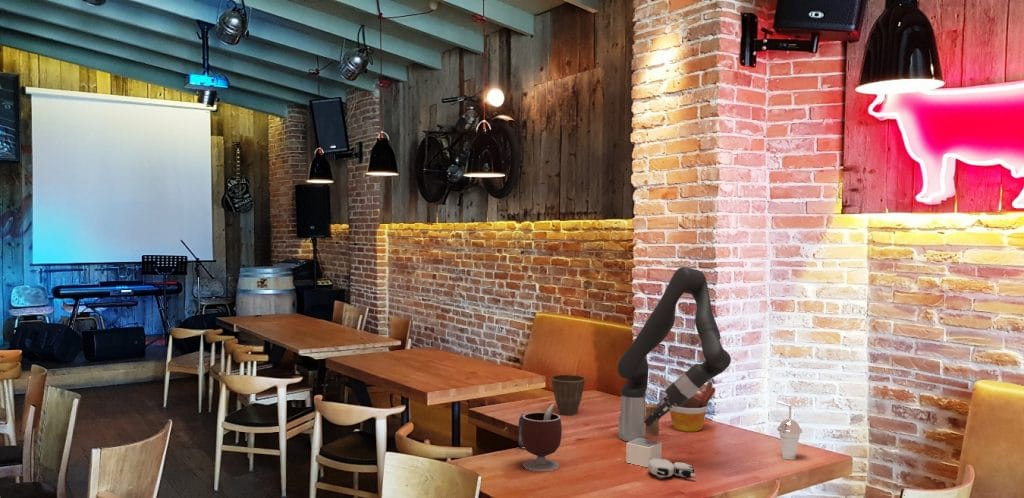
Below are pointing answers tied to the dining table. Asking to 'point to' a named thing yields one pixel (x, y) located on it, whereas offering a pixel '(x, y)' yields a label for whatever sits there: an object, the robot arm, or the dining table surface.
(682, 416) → the bucket of meat
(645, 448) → the block
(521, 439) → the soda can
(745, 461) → the dining table surface
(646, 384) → the robot arm
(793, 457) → the cup with straw
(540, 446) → the mate gourd
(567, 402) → the plant pot
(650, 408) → the walnut block
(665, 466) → the robot toy
